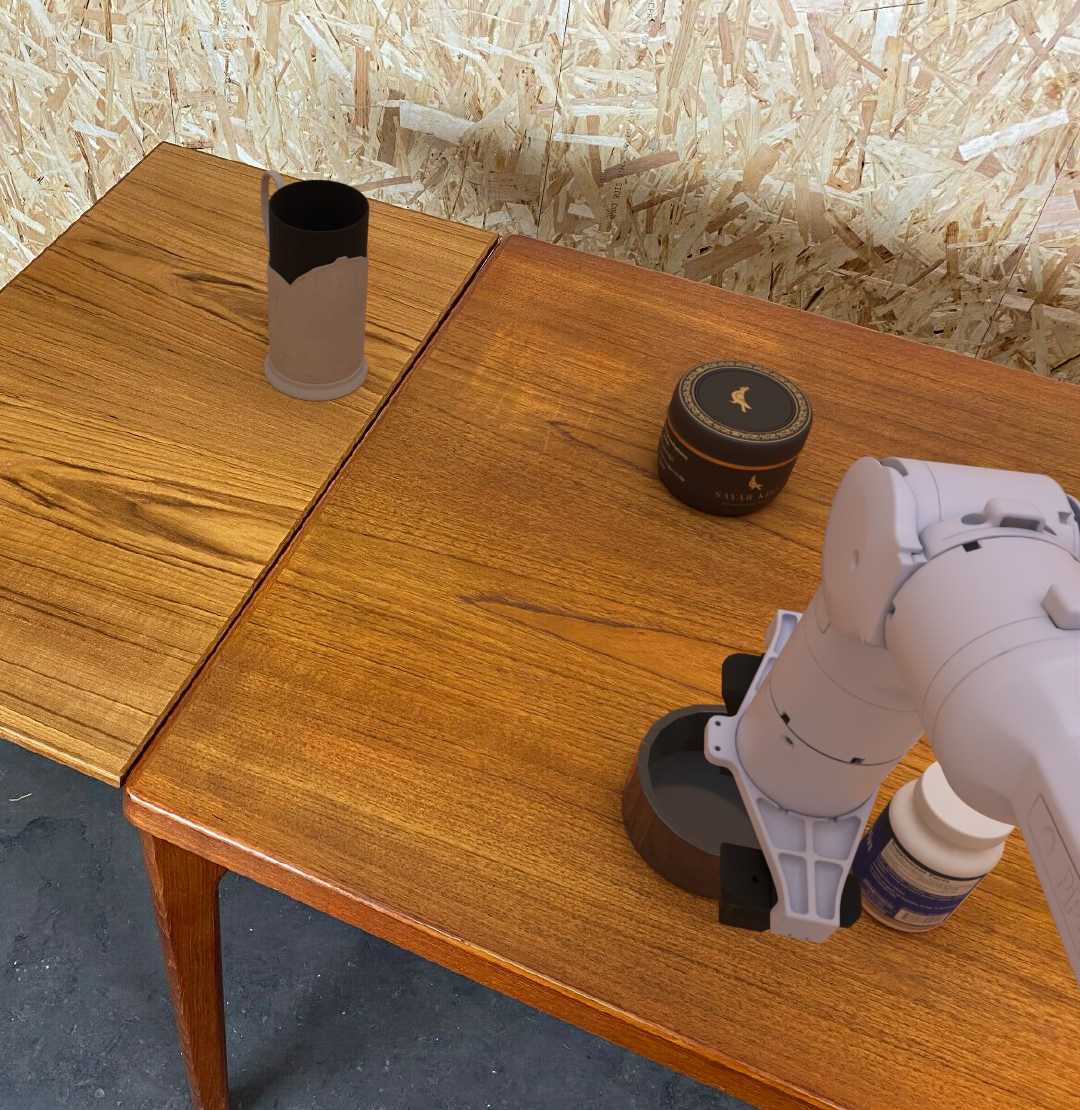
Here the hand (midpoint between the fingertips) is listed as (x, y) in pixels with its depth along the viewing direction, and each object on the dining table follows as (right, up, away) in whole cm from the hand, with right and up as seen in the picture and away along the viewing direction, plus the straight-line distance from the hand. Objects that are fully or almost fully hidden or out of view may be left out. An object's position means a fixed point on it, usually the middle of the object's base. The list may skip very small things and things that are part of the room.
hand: (740, 843), depth 55 cm
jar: (+10, +20, +33) cm, 40 cm away
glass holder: (-22, +31, +43) cm, 57 cm away
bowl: (+3, -2, +13) cm, 13 cm away
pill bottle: (+12, -5, +10) cm, 17 cm away
